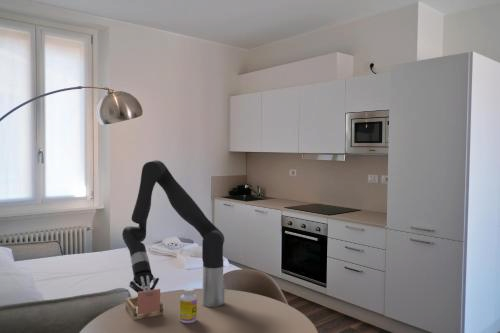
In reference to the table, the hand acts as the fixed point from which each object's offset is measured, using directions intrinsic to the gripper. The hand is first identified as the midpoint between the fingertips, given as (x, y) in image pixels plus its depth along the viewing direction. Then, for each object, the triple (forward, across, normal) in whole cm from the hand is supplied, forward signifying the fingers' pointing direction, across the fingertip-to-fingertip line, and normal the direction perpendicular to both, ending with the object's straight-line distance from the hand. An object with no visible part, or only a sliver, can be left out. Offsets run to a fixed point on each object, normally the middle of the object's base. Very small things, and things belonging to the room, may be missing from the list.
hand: (148, 301), depth 164 cm
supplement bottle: (+13, +13, -4) cm, 19 cm away
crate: (0, 0, +9) cm, 9 cm away
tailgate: (+4, 0, +2) cm, 5 cm away
